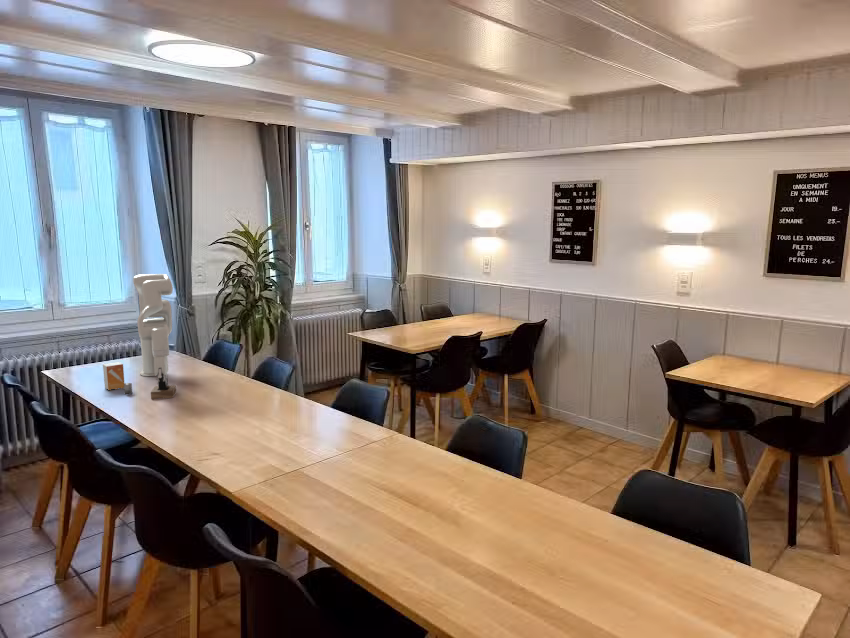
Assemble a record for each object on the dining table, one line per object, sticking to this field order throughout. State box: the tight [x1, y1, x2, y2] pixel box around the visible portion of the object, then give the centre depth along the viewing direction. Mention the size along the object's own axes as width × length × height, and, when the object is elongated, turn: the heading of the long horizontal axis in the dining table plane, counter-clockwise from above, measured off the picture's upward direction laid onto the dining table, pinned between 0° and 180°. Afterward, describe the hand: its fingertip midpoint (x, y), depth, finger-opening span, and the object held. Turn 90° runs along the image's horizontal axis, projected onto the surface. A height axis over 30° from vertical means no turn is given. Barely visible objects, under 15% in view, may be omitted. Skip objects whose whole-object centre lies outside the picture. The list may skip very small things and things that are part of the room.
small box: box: [102, 361, 126, 391], centre depth 301 cm, size 8×6×13 cm
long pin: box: [160, 374, 168, 390], centre depth 290 cm, size 4×4×12 cm
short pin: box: [123, 382, 133, 395], centre depth 293 cm, size 4×4×5 cm
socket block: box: [150, 384, 177, 400], centre depth 291 cm, size 10×10×4 cm
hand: (163, 387), depth 291 cm, fingers open, 4 cm apart
